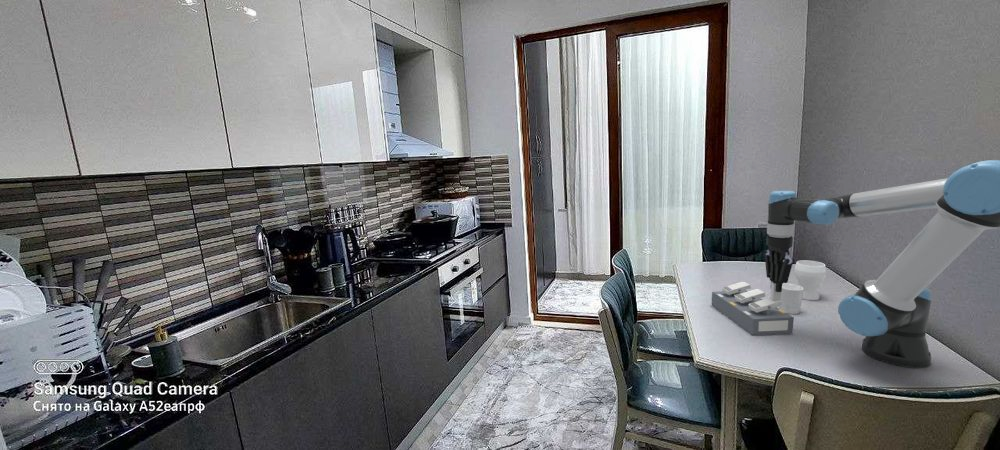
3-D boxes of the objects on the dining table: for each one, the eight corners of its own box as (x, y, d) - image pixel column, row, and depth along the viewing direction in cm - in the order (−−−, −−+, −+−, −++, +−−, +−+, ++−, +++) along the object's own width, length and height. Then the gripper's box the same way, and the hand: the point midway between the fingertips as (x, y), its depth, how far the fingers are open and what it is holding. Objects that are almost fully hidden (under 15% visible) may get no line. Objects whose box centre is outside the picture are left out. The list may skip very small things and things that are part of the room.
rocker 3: (782, 305, 140) (781, 301, 140) (757, 313, 141) (756, 308, 140) (772, 300, 145) (771, 296, 145) (748, 307, 146) (747, 303, 145)
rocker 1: (751, 288, 158) (750, 284, 157) (729, 295, 158) (728, 291, 158) (743, 284, 163) (742, 280, 162) (722, 290, 163) (721, 287, 163)
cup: (829, 298, 167) (832, 264, 164) (813, 303, 163) (816, 268, 161) (802, 291, 177) (805, 258, 174) (786, 295, 173) (789, 262, 170)
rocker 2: (766, 296, 149) (765, 292, 149) (742, 303, 149) (741, 299, 149) (757, 292, 154) (756, 287, 154) (734, 298, 155) (733, 294, 154)
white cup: (805, 315, 153) (807, 290, 151) (782, 314, 155) (784, 290, 153) (795, 307, 161) (796, 283, 159) (773, 306, 162) (774, 283, 160)
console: (792, 333, 139) (794, 312, 138) (752, 335, 139) (753, 314, 138) (745, 303, 167) (746, 286, 165) (711, 305, 167) (712, 287, 166)
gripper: (804, 238, 132) (799, 305, 136) (777, 231, 144) (773, 292, 149) (781, 240, 132) (777, 306, 136) (757, 232, 145) (753, 293, 149)
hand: (775, 299), depth 142 cm, fingers closed
